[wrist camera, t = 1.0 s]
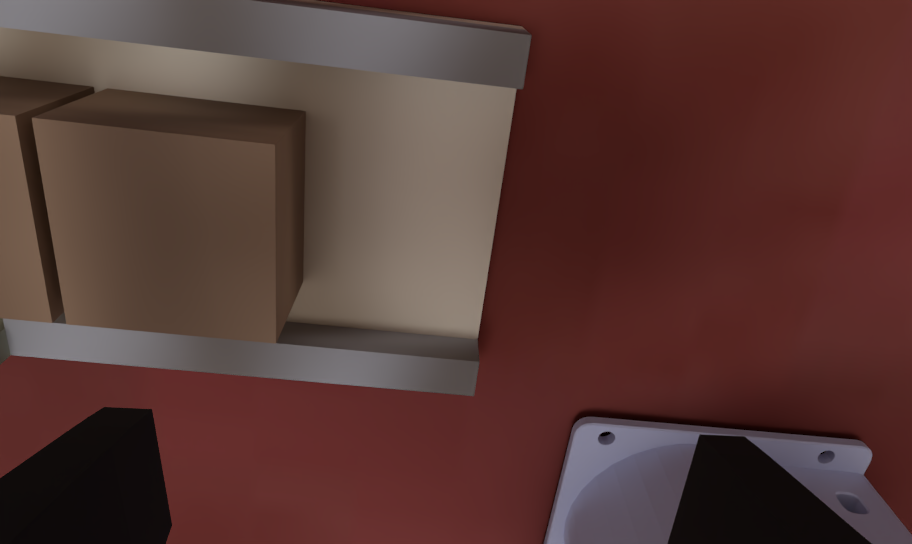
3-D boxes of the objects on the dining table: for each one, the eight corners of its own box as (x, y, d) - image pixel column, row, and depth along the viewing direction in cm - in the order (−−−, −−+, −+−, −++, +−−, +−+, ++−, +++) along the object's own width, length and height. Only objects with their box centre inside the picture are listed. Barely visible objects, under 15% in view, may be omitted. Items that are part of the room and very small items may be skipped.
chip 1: (305, 110, 15) (274, 144, 12) (303, 282, 17) (275, 343, 14) (107, 88, 15) (31, 117, 12) (127, 265, 17) (66, 324, 14)
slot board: (521, 26, 15) (535, 39, 13) (471, 356, 19) (474, 412, 17) (-505, -103, 14) (-701, -115, 11) (-327, 282, 18) (-445, 332, 15)
